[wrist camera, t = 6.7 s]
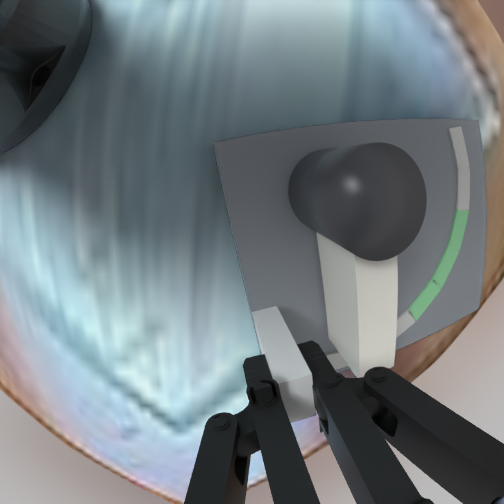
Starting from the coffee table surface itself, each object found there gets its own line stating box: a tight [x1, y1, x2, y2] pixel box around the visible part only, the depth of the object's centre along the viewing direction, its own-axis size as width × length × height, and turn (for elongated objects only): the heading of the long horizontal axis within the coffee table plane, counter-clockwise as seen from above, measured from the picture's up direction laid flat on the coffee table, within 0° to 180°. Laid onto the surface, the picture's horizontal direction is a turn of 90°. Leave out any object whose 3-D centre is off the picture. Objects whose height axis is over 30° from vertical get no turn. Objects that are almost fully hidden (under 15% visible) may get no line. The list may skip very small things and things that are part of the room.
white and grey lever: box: [288, 142, 427, 378], centre depth 15 cm, size 14×5×6 cm, turn 12°
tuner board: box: [213, 119, 487, 373], centre depth 20 cm, size 22×18×2 cm
